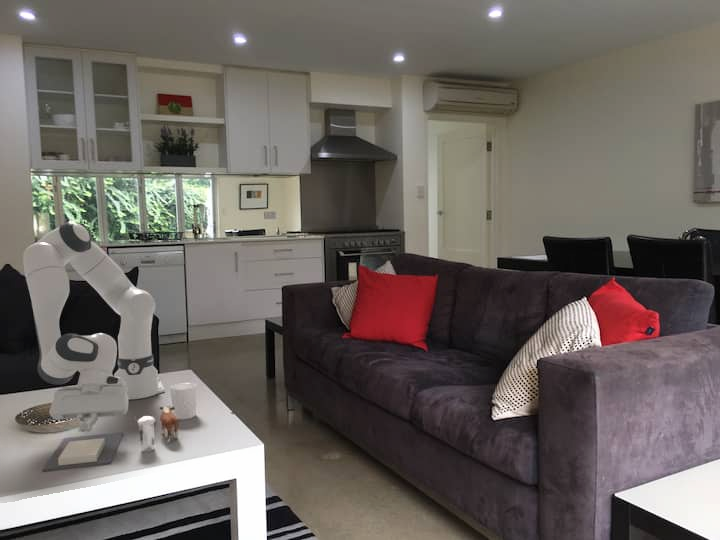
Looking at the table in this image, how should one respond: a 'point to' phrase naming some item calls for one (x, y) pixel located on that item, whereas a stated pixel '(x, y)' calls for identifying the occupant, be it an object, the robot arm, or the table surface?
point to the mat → (104, 458)
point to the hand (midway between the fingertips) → (84, 430)
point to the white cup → (184, 400)
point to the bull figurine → (169, 421)
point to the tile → (81, 451)
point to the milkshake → (146, 432)
